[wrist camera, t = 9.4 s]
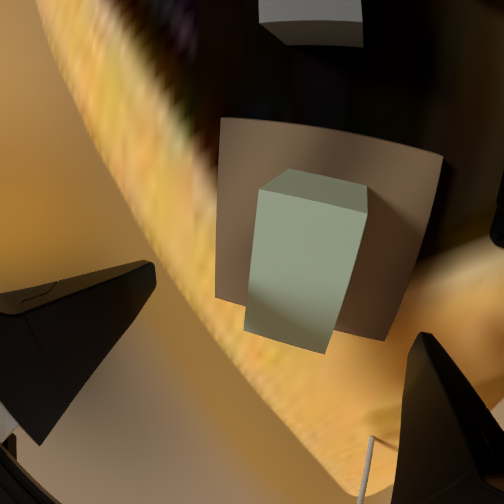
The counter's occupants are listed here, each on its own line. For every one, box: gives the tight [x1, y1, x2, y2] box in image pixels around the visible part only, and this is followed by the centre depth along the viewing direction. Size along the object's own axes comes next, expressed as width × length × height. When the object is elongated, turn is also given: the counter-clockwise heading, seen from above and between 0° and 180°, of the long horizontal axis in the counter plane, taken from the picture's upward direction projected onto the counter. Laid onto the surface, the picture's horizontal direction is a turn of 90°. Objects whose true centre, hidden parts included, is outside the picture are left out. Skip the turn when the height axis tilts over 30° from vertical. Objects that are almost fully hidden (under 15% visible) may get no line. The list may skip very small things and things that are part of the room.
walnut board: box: [215, 117, 443, 341], centre depth 14 cm, size 10×10×1 cm
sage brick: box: [244, 169, 368, 354], centre depth 12 cm, size 4×6×4 cm, turn 174°
